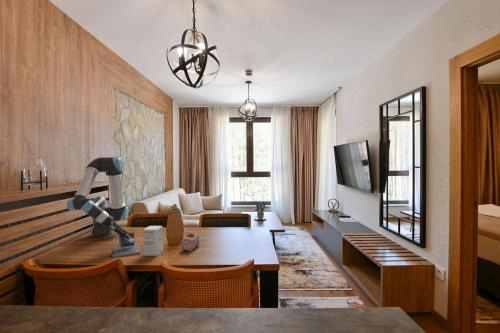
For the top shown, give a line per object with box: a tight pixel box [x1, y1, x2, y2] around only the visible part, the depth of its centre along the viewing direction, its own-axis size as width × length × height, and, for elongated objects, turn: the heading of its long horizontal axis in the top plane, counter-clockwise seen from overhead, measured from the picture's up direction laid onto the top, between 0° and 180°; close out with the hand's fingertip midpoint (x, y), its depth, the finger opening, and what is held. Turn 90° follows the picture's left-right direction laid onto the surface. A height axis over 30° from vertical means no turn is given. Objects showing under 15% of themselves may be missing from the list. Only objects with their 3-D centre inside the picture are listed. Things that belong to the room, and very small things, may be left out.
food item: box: [180, 233, 200, 252], centre depth 177 cm, size 14×8×10 cm, turn 168°
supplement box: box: [142, 225, 164, 257], centre depth 168 cm, size 10×9×17 cm
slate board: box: [111, 243, 141, 259], centre depth 172 cm, size 18×16×1 cm
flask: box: [118, 229, 135, 247], centre depth 176 cm, size 9×3×11 cm, turn 117°
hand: (133, 240), depth 177 cm, fingers closed on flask, 3 cm apart
